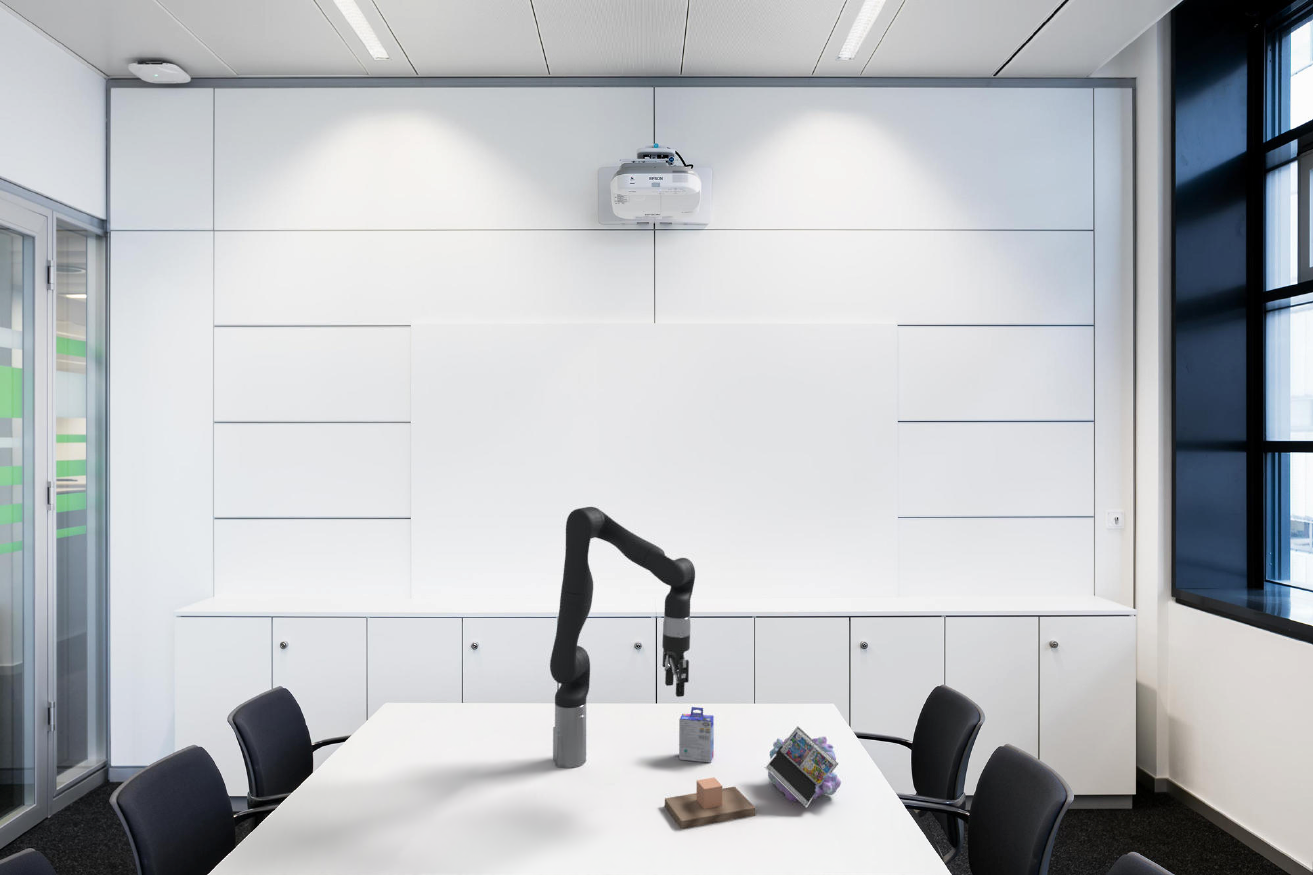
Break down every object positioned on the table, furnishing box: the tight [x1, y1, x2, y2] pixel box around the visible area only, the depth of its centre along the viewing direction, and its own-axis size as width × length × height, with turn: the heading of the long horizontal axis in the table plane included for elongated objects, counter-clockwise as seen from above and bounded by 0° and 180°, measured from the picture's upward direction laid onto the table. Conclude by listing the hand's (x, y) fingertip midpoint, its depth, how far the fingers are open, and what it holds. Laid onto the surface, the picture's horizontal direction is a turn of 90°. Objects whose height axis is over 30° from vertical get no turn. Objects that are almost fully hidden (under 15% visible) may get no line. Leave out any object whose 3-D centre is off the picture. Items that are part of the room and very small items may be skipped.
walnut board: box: [664, 786, 756, 830], centre depth 190 cm, size 20×12×2 cm, turn 110°
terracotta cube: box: [696, 777, 723, 809], centre depth 191 cm, size 5×5×5 cm
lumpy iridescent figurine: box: [764, 726, 842, 808], centre depth 201 cm, size 20×22×18 cm
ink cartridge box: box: [678, 706, 715, 763], centre depth 222 cm, size 10×6×14 cm, turn 78°
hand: (674, 690), depth 204 cm, fingers open, 8 cm apart
